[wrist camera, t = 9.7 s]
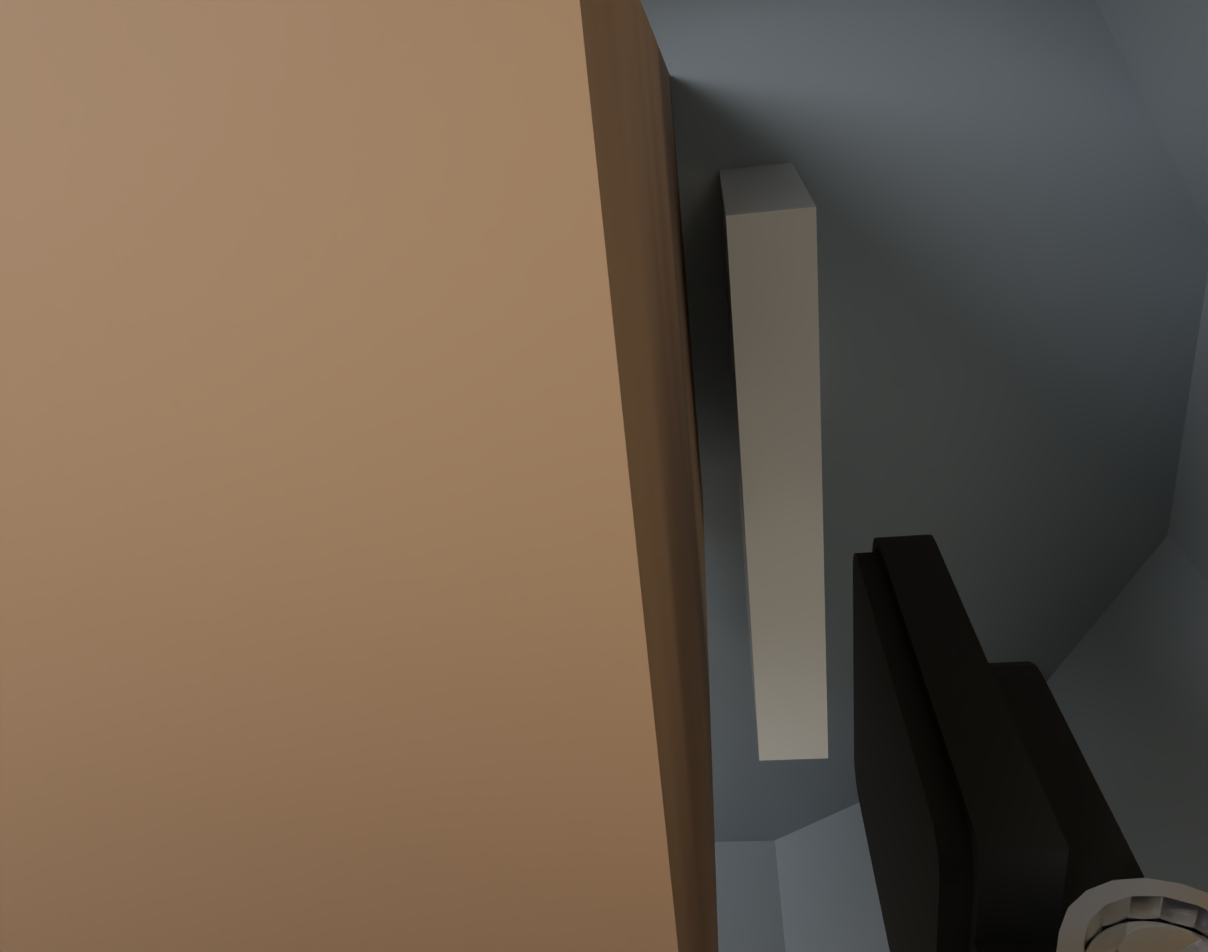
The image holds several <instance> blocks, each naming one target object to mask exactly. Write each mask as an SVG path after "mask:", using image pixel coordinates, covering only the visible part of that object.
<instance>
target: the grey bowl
mask: <svg viewBox="0 0 1208 952" xmlns="http://www.w3.org/2000/svg"><path fill="white" fill-rule="evenodd" d="M640 1H641V3H642V6H643V8H644V11H645V13H646V16H647V18H648V21H649V23H650V26H651V28H652V31H653V34H654V36H655V39H656V41H657V44H658V46H659V49H660V51H661V54H662V56H663V59H664V61H665V64H666V67H667V69H668V72H669V74H670V83H671V95H672V108H673V121H674V133H675V146H676V159H677V171H678V184H679V197H680V209H681V222H682V235H683V248H684V260H685V273H686V286H687V298H688V311H689V324H690V336H691V349H692V362H693V375H694V387H695V400H696V413H697V425H698V438H699V451H700V463H701V476H702V489H703V513H704V542H705V572H706V601H707V630H708V659H709V688H710V718H711V747H712V776H713V805H714V834H715V864H716V893H717V922H718V951H719V952H890V950H889V946H888V941H887V936H886V931H885V926H884V921H883V916H882V911H881V906H880V901H879V896H878V892H877V887H876V882H875V877H874V872H873V867H872V862H871V857H870V852H869V847H868V842H867V838H866V833H865V828H864V823H863V818H862V813H861V808H860V803H859V798H858V793H857V786H856V778H855V767H854V688H853V555H854V553H864V552H872V546H873V540H874V538H876V537H893V536H910V535H926V534H930V535H932V536H933V537H934V539H935V541H936V543H937V545H938V548H939V550H940V552H941V555H942V557H943V559H944V562H945V564H946V566H947V568H948V571H949V573H950V575H951V578H952V580H953V582H954V585H955V587H956V589H957V592H958V594H959V596H960V598H961V601H962V603H963V605H964V608H965V610H966V612H967V615H968V617H969V619H970V621H971V624H972V626H973V628H974V631H975V633H976V635H977V638H978V640H979V642H980V644H981V647H982V649H983V651H984V654H985V656H986V658H987V661H988V663H1001V662H1023V661H1030V662H1032V663H1033V664H1035V665H1036V666H1037V667H1038V669H1039V670H1040V672H1041V673H1042V675H1043V677H1044V679H1045V681H1046V683H1047V685H1048V687H1049V689H1050V691H1051V693H1052V694H1053V696H1054V698H1055V700H1056V702H1057V704H1058V706H1059V708H1060V710H1061V712H1062V714H1063V716H1064V718H1065V720H1066V722H1067V724H1068V726H1069V728H1070V730H1071V732H1072V734H1073V736H1074V738H1075V740H1076V742H1077V744H1078V746H1079V748H1080V750H1081V752H1082V754H1083V756H1084V758H1085V760H1086V762H1087V764H1088V766H1089V768H1090V770H1091V772H1092V774H1093V776H1094V778H1095V780H1096V782H1097V784H1098V786H1099V788H1100V790H1101V792H1102V794H1103V796H1104V798H1105V800H1106V802H1107V804H1108V806H1109V807H1110V809H1111V811H1112V813H1113V815H1114V817H1115V819H1116V821H1117V823H1118V825H1119V827H1120V829H1121V831H1122V833H1123V835H1124V837H1125V839H1126V841H1127V843H1128V845H1129V847H1130V849H1131V851H1132V853H1133V855H1134V857H1135V859H1136V861H1137V863H1138V865H1139V867H1140V869H1141V871H1142V873H1143V875H1144V877H1145V878H1150V879H1156V880H1162V881H1169V882H1175V883H1181V884H1184V885H1187V886H1190V887H1192V888H1195V889H1198V890H1200V891H1203V892H1206V893H1208V0H640Z"/></svg>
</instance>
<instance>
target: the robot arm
mask: <svg viewBox="0 0 1208 952" xmlns="http://www.w3.org/2000/svg"><path fill="white" fill-rule="evenodd" d="M853 688H854V767H855V778H856V786H857V793H858V798H859V803H860V808H861V813H862V818H863V823H864V828H865V833H866V838H867V842H868V847H869V852H870V857H871V862H872V867H873V872H874V877H875V882H876V887H877V892H878V896H879V901H880V906H881V911H882V916H883V921H884V926H885V931H886V936H887V941H888V946H889V950H890V952H1208V893H1206V892H1203V891H1200V890H1198V889H1195V888H1192V887H1190V886H1187V885H1184V884H1181V883H1175V882H1169V881H1162V880H1156V879H1150V878H1145V877H1144V875H1143V873H1142V871H1141V869H1140V867H1139V865H1138V863H1137V861H1136V859H1135V857H1134V855H1133V853H1132V851H1131V849H1130V847H1129V845H1128V843H1127V841H1126V839H1125V837H1124V835H1123V833H1122V831H1121V829H1120V827H1119V825H1118V823H1117V821H1116V819H1115V817H1114V815H1113V813H1112V811H1111V809H1110V807H1109V806H1108V804H1107V802H1106V800H1105V798H1104V796H1103V794H1102V792H1101V790H1100V788H1099V786H1098V784H1097V782H1096V780H1095V778H1094V776H1093V774H1092V772H1091V770H1090V768H1089V766H1088V764H1087V762H1086V760H1085V758H1084V756H1083V754H1082V752H1081V750H1080V748H1079V746H1078V744H1077V742H1076V740H1075V738H1074V736H1073V734H1072V732H1071V730H1070V728H1069V726H1068V724H1067V722H1066V720H1065V718H1064V716H1063V714H1062V712H1061V710H1060V708H1059V706H1058V704H1057V702H1056V700H1055V698H1054V696H1053V694H1052V693H1051V691H1050V689H1049V687H1048V685H1047V683H1046V681H1045V679H1044V677H1043V675H1042V673H1041V672H1040V670H1039V669H1038V667H1037V666H1036V665H1035V664H1033V663H1032V662H1030V661H1023V662H1001V663H988V661H987V658H986V656H985V654H984V651H983V649H982V647H981V644H980V642H979V640H978V638H977V635H976V633H975V631H974V628H973V626H972V624H971V621H970V619H969V617H968V615H967V612H966V610H965V608H964V605H963V603H962V601H961V598H960V596H959V594H958V592H957V589H956V587H955V585H954V582H953V580H952V578H951V575H950V573H949V571H948V568H947V566H946V564H945V562H944V559H943V557H942V555H941V552H940V550H939V548H938V545H937V543H936V541H935V539H934V537H933V536H932V535H930V534H926V535H910V536H893V537H876V538H874V540H873V546H872V552H864V553H854V555H853Z"/></svg>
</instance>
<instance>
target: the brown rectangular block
mask: <svg viewBox="0 0 1208 952" xmlns="http://www.w3.org/2000/svg"><path fill="white" fill-rule="evenodd" d="M0 952H719V951H718V922H717V893H716V864H715V834H714V805H713V776H712V747H711V718H710V688H709V659H708V630H707V601H706V572H705V542H704V513H703V489H702V476H701V463H700V451H699V438H698V425H697V413H696V400H695V387H694V375H693V362H692V349H691V336H690V324H689V311H688V298H687V286H686V273H685V260H684V248H683V235H682V222H681V209H680V197H679V184H678V171H677V159H676V146H675V133H674V121H673V108H672V95H671V83H670V74H669V72H668V69H667V67H666V64H665V61H664V59H663V56H662V54H661V51H660V49H659V46H658V44H657V41H656V39H655V36H654V34H653V31H652V28H651V26H650V23H649V21H648V18H647V16H646V13H645V11H644V8H643V6H642V3H641V1H640V0H0Z"/></svg>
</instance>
